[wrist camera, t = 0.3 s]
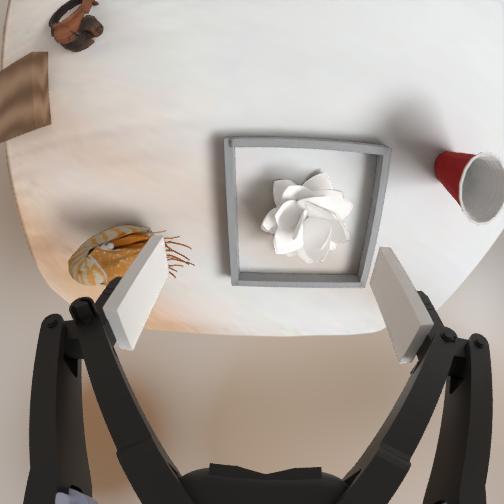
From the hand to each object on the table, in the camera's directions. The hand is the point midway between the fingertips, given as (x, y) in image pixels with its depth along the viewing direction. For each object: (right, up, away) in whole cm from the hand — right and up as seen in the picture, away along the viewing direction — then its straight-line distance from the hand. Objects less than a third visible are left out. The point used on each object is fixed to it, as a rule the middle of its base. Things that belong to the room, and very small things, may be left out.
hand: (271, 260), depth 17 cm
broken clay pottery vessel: (-28, +37, +14) cm, 48 cm away
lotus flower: (+8, +7, +29) cm, 31 cm away
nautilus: (-20, +4, +33) cm, 39 cm away
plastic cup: (+32, +15, +22) cm, 42 cm away
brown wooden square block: (-46, +31, +18) cm, 58 cm away
